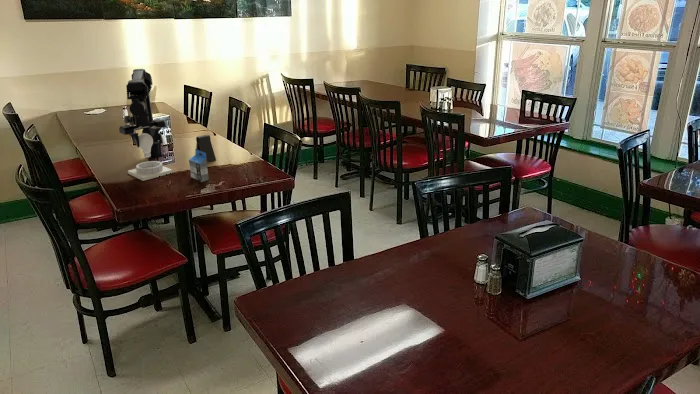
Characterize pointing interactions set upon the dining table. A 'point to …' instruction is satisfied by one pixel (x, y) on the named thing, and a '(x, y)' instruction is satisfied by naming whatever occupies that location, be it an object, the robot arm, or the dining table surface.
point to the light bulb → (145, 144)
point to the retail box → (199, 166)
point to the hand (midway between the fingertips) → (145, 145)
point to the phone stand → (205, 147)
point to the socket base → (149, 176)
